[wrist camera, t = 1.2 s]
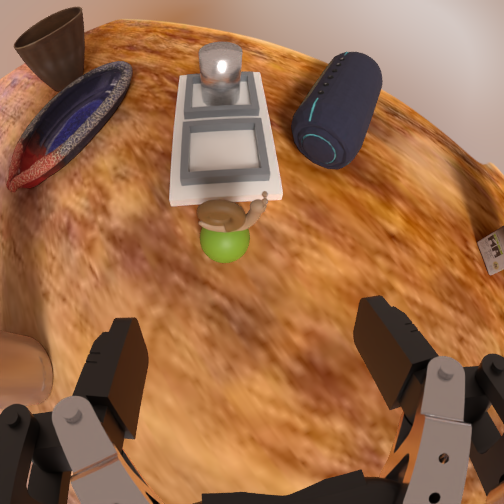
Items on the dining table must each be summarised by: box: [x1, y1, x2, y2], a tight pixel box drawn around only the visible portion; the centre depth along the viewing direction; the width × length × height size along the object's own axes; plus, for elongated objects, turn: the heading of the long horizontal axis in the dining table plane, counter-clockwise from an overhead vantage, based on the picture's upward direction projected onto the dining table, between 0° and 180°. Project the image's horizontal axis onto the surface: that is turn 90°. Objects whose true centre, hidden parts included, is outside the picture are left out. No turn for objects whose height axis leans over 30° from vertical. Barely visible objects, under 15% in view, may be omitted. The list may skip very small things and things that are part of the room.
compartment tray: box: [169, 72, 283, 206], centre depth 40 cm, size 14×26×3 cm, turn 5°
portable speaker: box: [291, 52, 382, 169], centre depth 39 cm, size 25×10×10 cm, turn 153°
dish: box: [6, 61, 132, 192], centre depth 38 cm, size 16×31×5 cm, turn 152°
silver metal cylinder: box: [199, 42, 242, 106], centre depth 37 cm, size 6×6×9 cm
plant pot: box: [14, 7, 85, 91], centre depth 38 cm, size 15×15×16 cm
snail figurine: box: [197, 191, 268, 263], centre depth 29 cm, size 5×6×12 cm
